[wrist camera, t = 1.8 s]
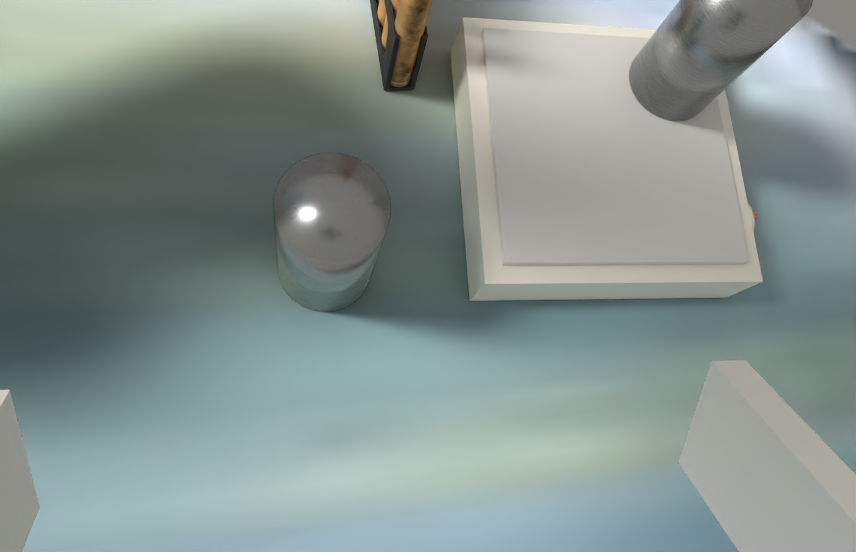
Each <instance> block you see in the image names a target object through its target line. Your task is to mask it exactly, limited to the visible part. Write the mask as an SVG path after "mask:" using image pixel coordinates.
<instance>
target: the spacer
mask: <svg viewBox="0 0 856 552" xmlns="http://www.w3.org/2000/svg"><path fill="white" fill-rule="evenodd" d="M273 209H274V221H275V233H276V245H277V257H278V269H279V276H280V280H281V283H282V285H283V287H284V289H285V291H286V292H287V294H288V295H289V296H290V297H291V298H292V299H293V300H294V301H295V302H297V303H298V304H300V305H301V306H303V307H305V308H308V309H311V310H314V311H321V312H329V311H336V310H339V309H342V308H345V307H347V306H349V305H350V304H352V303H353V302H355V301H356V300H357V299H358V298H359V297H360V296H361V294H362V293H363V292H364V290H365V288H366V286H367V284H368V281H369V279H370V276H371V273H372V270H373V267H374V264H375V261H376V259H377V256H378V253H379V250H380V247H381V244H382V241H383V239H384V236H385V233H386V230H387V227H388V224H389V221H390V215H391V203H390V197H389V193H388V191H387V188H386V186H385V184H384V182H383V181H382V179H381V178H380V176H379V175H378V174H377V173H376V172H375V171H374V170H373V169H372V168H371V167H370V166H368V165H367V164H366V163H364V162H362V161H361V160H359V159H357V158H354V157H352V156H349V155H345V154H340V153H321V154H315V155H312V156H309V157H306V158H304V159H302V160H300V161H299V162H297V163H295V164H294V165H293V166H292V167H290V168H289V169H288V170H287V171H286V172H285V174H284V175H283V176H282V178H281V180H280V181H279V183H278V185H277V188H276V191H275V195H274V202H273Z"/></svg>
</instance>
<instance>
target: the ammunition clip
mask: <svg viewBox="0 0 856 552" xmlns="http://www.w3.org/2000/svg"><path fill="white" fill-rule="evenodd" d="M370 4H371V10H372V17H373V23H374V29H375V36H376V42H377V49H378V55H379V61H380V68H381V74H382V81H383V87H384V90H385V91H397V90H413V89H414V87H415V83H416V80H417V76H418V72H419V68H420V64H421V61H422V57H423V53H424V49H425V45H426V42H427V38H428V34H427V28H426V22H427V18H428V15H429V11H430V7H431V4H432V0H370Z"/></svg>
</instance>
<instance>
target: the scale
mask: <svg viewBox="0 0 856 552" xmlns="http://www.w3.org/2000/svg"><path fill="white" fill-rule="evenodd" d="M655 31H656V30H655V29H639V28H624V27H608V26H593V25H577V24H562V23H546V22H530V21H515V20H499V19H484V18H468V17H463V19H462V22H461V24H460V27H459V30H458V33H457V36H456V38H455V41H454V44H453V47H452V50H451V65H452V78H453V91H454V105H455V118H456V131H457V144H458V157H459V170H460V183H461V196H462V210H463V223H464V236H465V249H466V262H467V275H468V288H469V301H492V300H570V299H649V298H727V297H729V296H731V295H734V294H736V293H738V292H741V291H743V290H745V289H747V288H750V287H752V286H754V285H757V284H759V283H761V282H763V279H762V274H761V269H760V263H759V258H758V253H757V248H756V243H755V238H754V227H755V219H756V218H757V214H753V211H752V208H751V207H750V205H749V204H748V202H747V197H746V192H745V187H744V182H743V177H742V172H741V167H740V161H739V156H738V151H737V146H736V141H735V136H734V131H733V126H732V121H731V116H730V110H729V105H728V100H727V95H726V90H724V91H723V92H722V93H721V94H720V95H718V96H717V97H716V98H715V99H714V100H713V101H712V102H711V103H710V104H709V105H708V106H707V107H705V108H704V109H703V110H702V111H701V112H700V113H699V114H698V115H696V116H695V117H693V118H691V119H689V120H686V121H668V120H664V119H661V118H659V117H657V116H655V115H653V114H652V113H650V112H649V111H647V110H646V109H645V108H644V107H643V106H642V105H641V104H640V103H639V102H638V100H637V99H636V97H635V96H634V94H633V92H632V89H631V86H630V82H629V70H630V66H631V63H632V61H633V59H634V58H635V57H636V55H637V54H638V53H639V52H640V50H641V49H642V48H643V47H644V45H645V44H646V43H647V42H648V40H649V39H650V38H651V36H652V35H653V34H654V33H655Z"/></svg>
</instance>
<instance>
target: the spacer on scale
mask: <svg viewBox="0 0 856 552" xmlns="http://www.w3.org/2000/svg"><path fill="white" fill-rule="evenodd" d="M812 2H813V0H680V1H679V2H678V4H677V5H676V6H675V7H674V9H673V10H672V11H671V12H670V14H669V15H668V16H667V18H666V19H665V20H664V21H663V23H662V24H661V25H660V26H659V28H658V29H657V30H656V31H655V33H654V34H653V35H652V36H651V38H650V39H649V40H648V42H647V43H646V44H645V45H644V47H643V48H642V49H641V50H640V52H639V53H638V54H637V55H636V57H635V58H634V59H633V61H632V63H631V66H630V70H629V82H630V86H631V89H632V92H633V94H634V96H635V97H636V99H637V100H638V102H639V103H640V104H641V105H642V106H643V107H644V108H645V109H646V110H647V111H649V112H650V113H652V114H653V115H655V116H657V117H659V118H661V119H664V120H668V121H686V120H689V119H691V118H693V117H695V116H696V115H698V114H699V113H700V112H701V111H702V110H703V109H704V108H705V107H707V106H708V105H709V104H710V103H711V102H712V101H713V100H714V99H715V98H716V97H717V96H718V95H720V94H721V93H722V92H723V91H724V90H725V89H726V88H727V87H728V86H729V85H730V84H731V83H733V82H734V81H735V80H736V79H737V78H738V77H739V76H740V75H741V74H742V73H743V72H744V71H746V70H747V69H748V68H749V67H750V66H751V65H752V64H753V63H754V62H755V61H756V60H757V59H759V58H760V57H761V56H762V55H763V54H764V53H765V52H766V51H767V50H768V49H769V48H770V47H772V46H773V45H774V44H775V43H776V42H777V41H778V40H779V39H780V38H781V37H782V36H783V35H785V34H786V33H787V32H788V31H789V30H790V29H791V28H792V27H793V26H794V25H795V24H796V23H797V22H799V21H800V20H801V19H802V18H803V17H804V16H805V15H806V14H807V13H808V11H809V9H810V8H811V6H812Z"/></svg>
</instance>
